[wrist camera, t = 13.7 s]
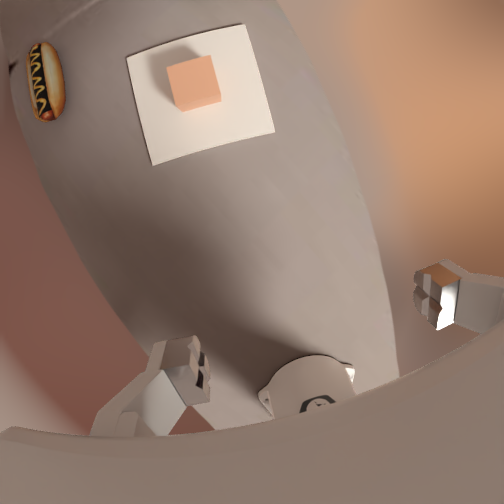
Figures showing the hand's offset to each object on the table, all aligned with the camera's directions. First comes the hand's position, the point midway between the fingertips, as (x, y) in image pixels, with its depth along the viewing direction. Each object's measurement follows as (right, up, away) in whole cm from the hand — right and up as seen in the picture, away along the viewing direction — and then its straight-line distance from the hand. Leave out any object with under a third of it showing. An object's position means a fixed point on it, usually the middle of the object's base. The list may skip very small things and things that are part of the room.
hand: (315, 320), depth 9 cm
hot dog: (-31, +27, +19) cm, 45 cm away
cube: (-9, +22, +21) cm, 32 cm away
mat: (-9, +23, +22) cm, 33 cm away
